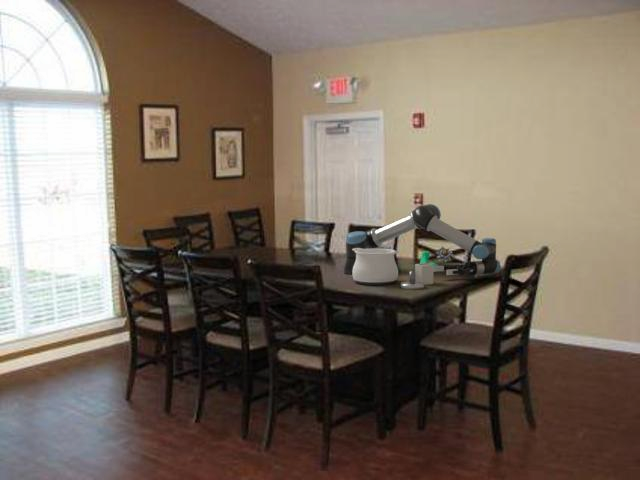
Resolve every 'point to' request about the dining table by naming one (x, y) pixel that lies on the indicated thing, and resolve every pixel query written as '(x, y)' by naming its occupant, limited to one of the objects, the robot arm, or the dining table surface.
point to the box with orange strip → (424, 273)
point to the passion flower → (444, 254)
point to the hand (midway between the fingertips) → (439, 270)
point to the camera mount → (426, 258)
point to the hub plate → (410, 286)
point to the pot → (375, 266)
